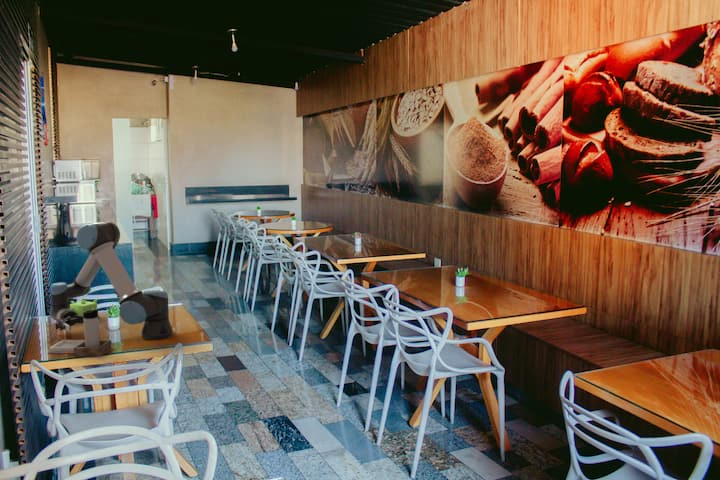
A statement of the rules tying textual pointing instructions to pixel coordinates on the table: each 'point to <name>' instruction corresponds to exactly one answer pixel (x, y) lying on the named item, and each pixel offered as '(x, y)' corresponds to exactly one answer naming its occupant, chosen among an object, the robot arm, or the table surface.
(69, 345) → the tray
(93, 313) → the travel mug
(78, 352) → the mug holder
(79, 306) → the green rounded cube block
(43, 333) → the table surface
